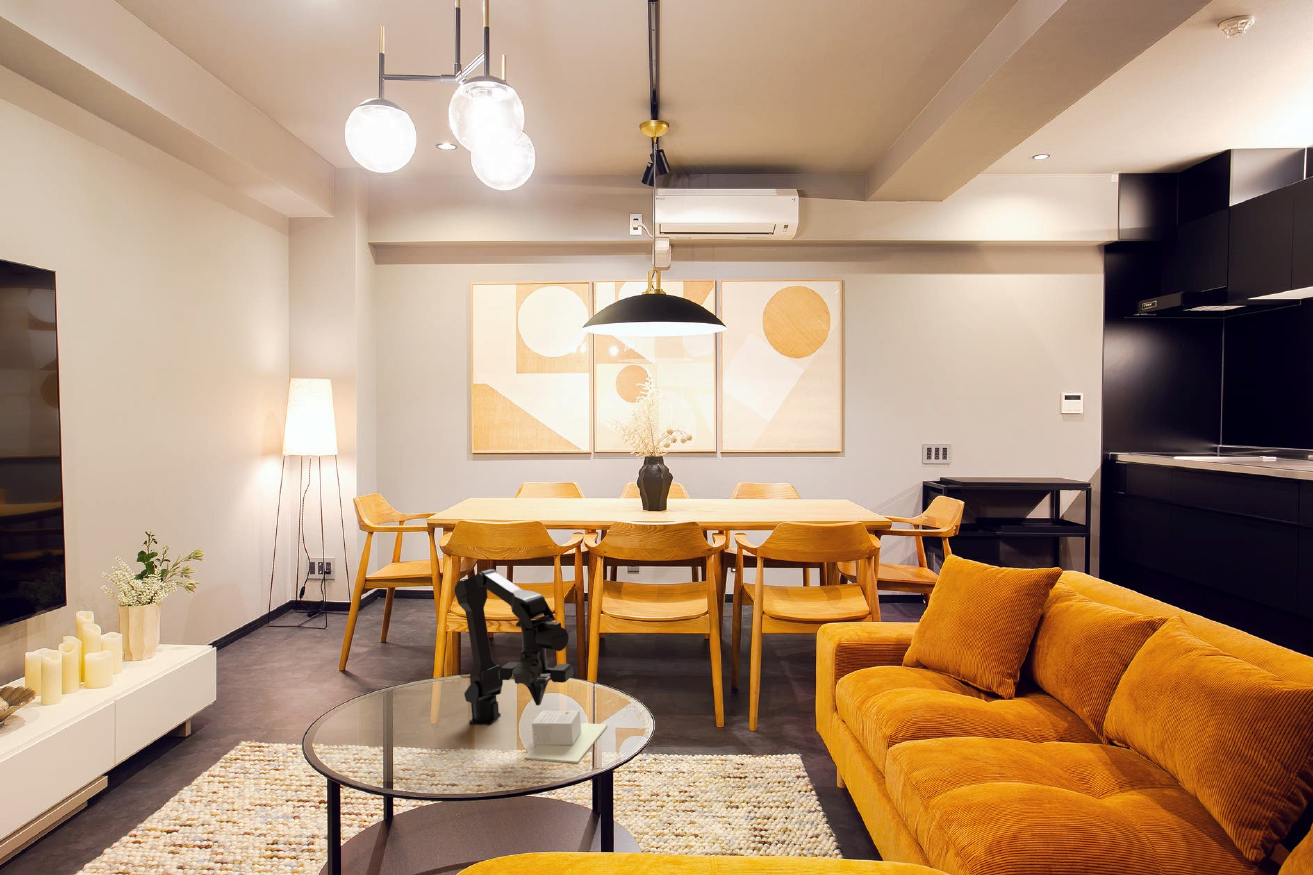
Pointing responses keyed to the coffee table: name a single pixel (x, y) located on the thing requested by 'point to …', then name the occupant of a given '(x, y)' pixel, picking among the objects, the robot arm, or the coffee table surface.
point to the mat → (569, 746)
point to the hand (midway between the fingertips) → (538, 704)
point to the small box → (556, 728)
